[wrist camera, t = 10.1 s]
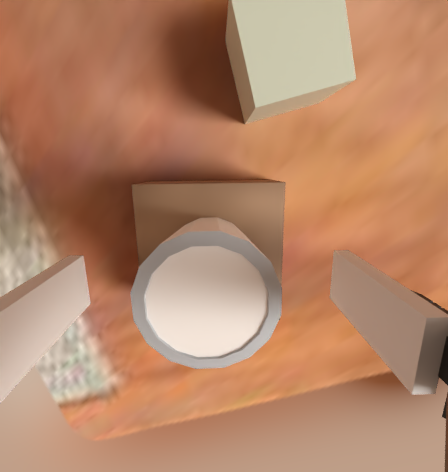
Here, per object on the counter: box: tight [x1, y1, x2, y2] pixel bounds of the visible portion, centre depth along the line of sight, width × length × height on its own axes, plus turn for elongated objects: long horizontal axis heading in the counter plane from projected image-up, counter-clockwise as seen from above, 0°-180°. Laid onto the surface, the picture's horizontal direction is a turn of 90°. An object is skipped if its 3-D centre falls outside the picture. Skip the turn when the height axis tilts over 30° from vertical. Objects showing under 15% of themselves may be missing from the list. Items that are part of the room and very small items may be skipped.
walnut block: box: [132, 180, 285, 320], centre depth 22 cm, size 10×10×5 cm
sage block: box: [225, 0, 356, 124], centre depth 18 cm, size 6×6×6 cm
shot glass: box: [130, 217, 282, 369], centre depth 16 cm, size 7×7×7 cm
